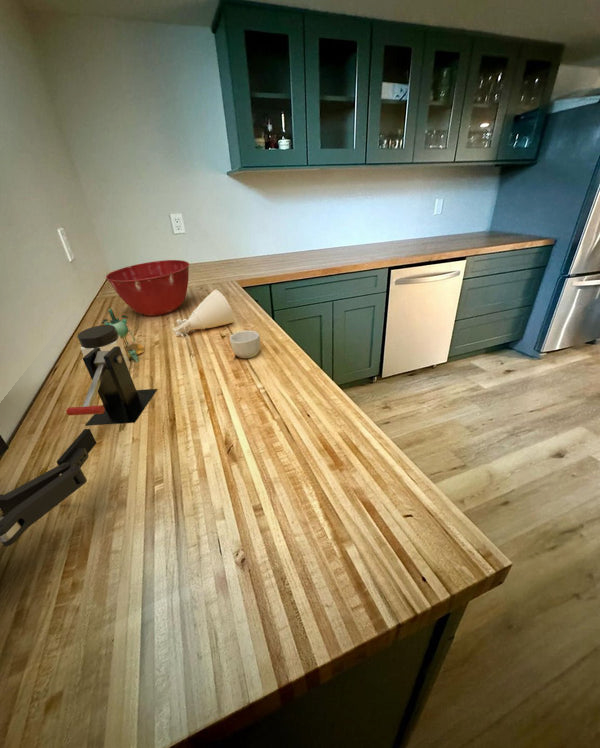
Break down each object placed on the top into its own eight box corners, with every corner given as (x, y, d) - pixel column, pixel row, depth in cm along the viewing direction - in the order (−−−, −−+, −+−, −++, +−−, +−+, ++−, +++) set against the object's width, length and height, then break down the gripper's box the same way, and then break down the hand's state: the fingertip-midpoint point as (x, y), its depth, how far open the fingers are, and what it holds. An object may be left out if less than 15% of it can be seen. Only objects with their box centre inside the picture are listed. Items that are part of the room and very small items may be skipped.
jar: (128, 380, 82) (110, 335, 76) (92, 386, 81) (71, 341, 75) (134, 363, 90) (118, 321, 84) (101, 369, 88) (83, 327, 82)
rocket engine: (161, 310, 96) (215, 283, 103) (164, 324, 107) (213, 299, 114) (184, 343, 96) (236, 313, 103) (185, 354, 107) (232, 327, 114)
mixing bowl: (153, 328, 112) (138, 282, 104) (104, 317, 125) (88, 275, 118) (213, 302, 132) (205, 261, 124) (165, 295, 146) (155, 258, 138)
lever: (104, 416, 59) (97, 409, 57) (71, 418, 59) (63, 411, 57) (124, 357, 67) (118, 349, 65) (95, 359, 67) (88, 351, 65)
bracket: (136, 427, 66) (111, 365, 59) (87, 429, 66) (56, 369, 59) (159, 393, 76) (139, 337, 69) (116, 395, 76) (92, 340, 69)
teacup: (266, 356, 88) (263, 337, 85) (238, 364, 85) (234, 345, 82) (252, 343, 96) (250, 325, 93) (226, 350, 93) (223, 332, 90)
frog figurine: (109, 375, 85) (85, 318, 79) (111, 355, 101) (92, 306, 94) (148, 364, 89) (129, 309, 83) (145, 346, 104) (128, 299, 98)
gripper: (-195, 614, 34) (-21, 461, 52) (43, 606, 33) (136, 452, 51) (-264, 572, 30) (-50, 423, 48) (4, 561, 29) (119, 413, 47)
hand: (46, 438), depth 50 cm, fingers open, 13 cm apart
